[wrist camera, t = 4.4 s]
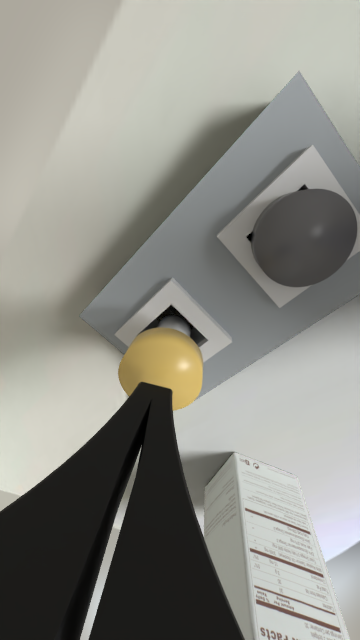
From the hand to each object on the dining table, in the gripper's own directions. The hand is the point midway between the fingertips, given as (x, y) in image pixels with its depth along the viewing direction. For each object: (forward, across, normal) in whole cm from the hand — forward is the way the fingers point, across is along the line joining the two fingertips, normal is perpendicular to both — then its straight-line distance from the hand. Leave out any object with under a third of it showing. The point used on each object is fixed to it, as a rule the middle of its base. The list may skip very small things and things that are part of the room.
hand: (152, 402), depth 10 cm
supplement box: (+9, -11, +17) cm, 23 cm away
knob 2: (+9, -5, -7) cm, 12 cm away
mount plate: (+9, -2, -4) cm, 10 cm away
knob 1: (+6, 0, 0) cm, 6 cm away
